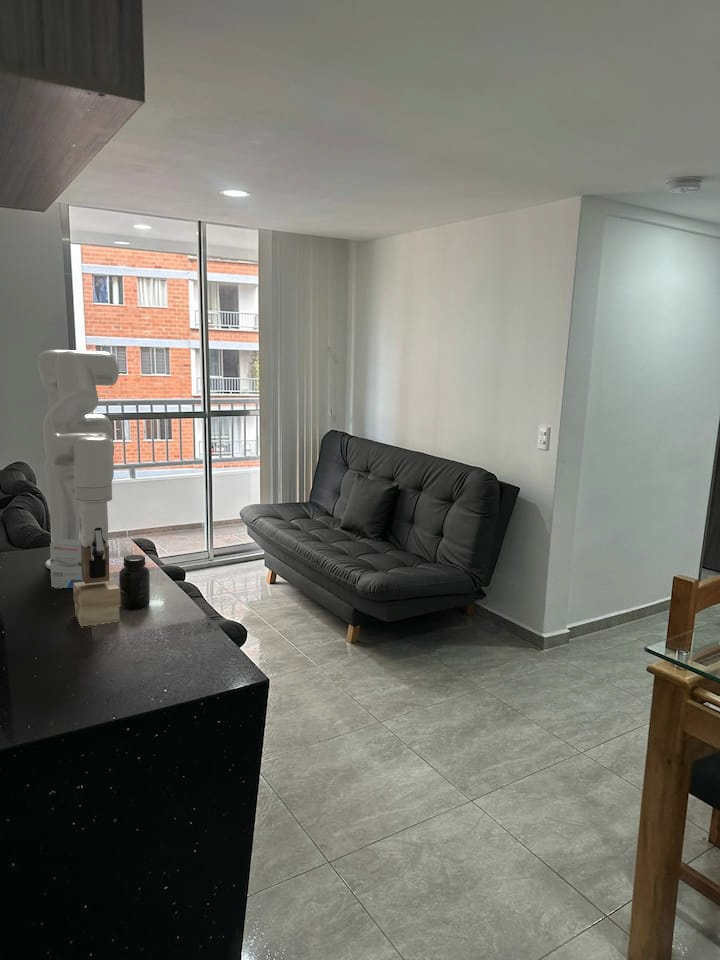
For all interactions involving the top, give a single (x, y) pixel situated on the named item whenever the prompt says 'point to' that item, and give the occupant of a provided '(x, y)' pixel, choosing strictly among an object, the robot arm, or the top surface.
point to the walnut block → (85, 565)
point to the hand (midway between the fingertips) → (95, 572)
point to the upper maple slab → (96, 595)
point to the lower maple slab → (97, 615)
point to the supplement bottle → (134, 583)
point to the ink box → (65, 563)
